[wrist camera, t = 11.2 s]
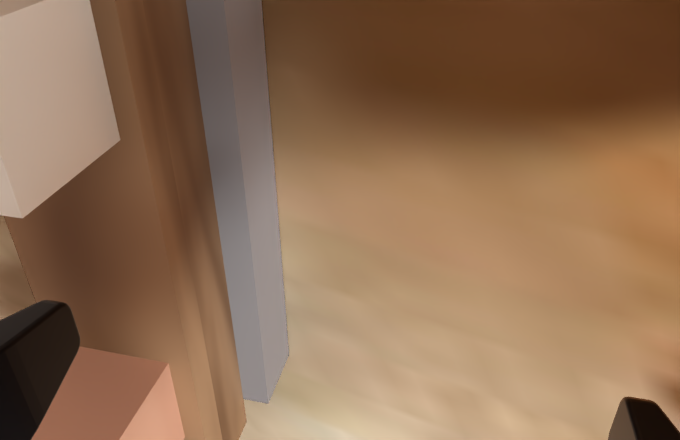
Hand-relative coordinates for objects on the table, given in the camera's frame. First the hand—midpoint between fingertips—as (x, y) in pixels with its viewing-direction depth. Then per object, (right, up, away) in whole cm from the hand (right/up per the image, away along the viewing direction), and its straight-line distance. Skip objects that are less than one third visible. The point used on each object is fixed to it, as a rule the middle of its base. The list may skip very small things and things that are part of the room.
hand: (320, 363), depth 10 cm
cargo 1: (-8, +6, +6) cm, 12 cm away
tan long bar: (-7, +3, +12) cm, 14 cm away
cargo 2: (-8, -4, +13) cm, 16 cm away
